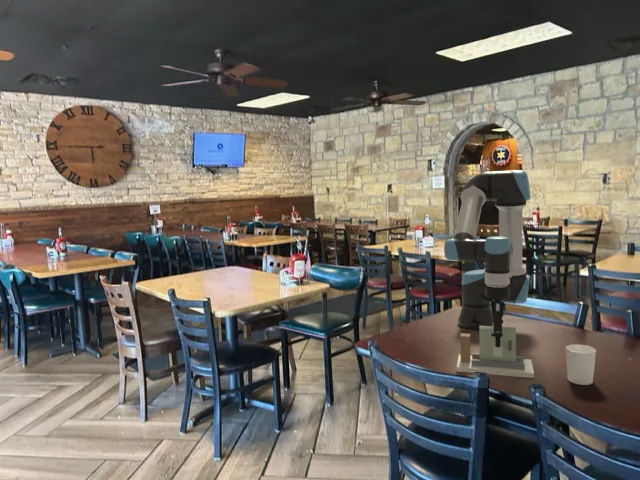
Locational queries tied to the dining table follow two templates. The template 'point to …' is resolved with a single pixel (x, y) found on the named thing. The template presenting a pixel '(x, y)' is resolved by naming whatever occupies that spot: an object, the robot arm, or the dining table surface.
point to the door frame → (491, 363)
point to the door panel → (507, 344)
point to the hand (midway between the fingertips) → (497, 349)
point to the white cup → (580, 364)
